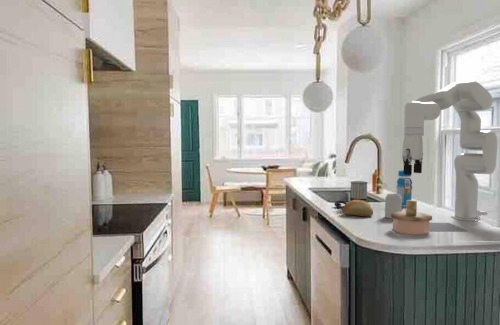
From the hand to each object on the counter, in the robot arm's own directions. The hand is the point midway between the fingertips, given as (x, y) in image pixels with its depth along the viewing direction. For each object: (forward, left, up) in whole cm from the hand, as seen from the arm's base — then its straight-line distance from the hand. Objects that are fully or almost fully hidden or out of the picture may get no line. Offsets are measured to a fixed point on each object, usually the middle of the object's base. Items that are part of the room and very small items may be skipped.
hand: (412, 173), depth 173 cm
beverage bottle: (-21, -64, -24) cm, 71 cm away
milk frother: (+12, -54, -25) cm, 61 cm away
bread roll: (+13, -34, -25) cm, 44 cm away
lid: (0, 0, -18) cm, 18 cm away
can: (-2, -27, -25) cm, 36 cm away
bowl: (0, 0, -24) cm, 24 cm away
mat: (-15, -7, -24) cm, 29 cm away
